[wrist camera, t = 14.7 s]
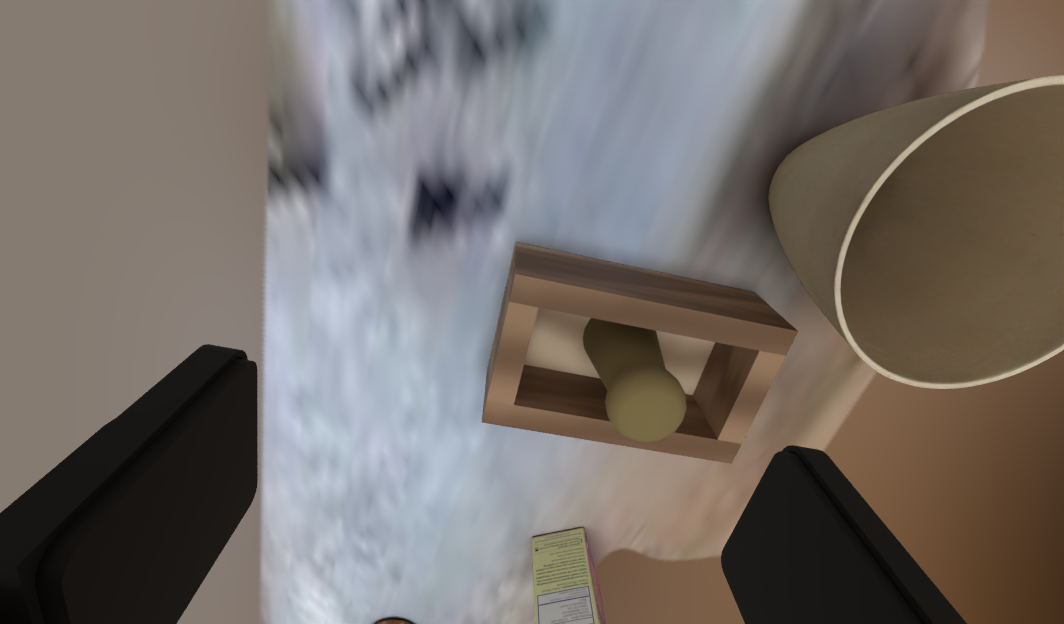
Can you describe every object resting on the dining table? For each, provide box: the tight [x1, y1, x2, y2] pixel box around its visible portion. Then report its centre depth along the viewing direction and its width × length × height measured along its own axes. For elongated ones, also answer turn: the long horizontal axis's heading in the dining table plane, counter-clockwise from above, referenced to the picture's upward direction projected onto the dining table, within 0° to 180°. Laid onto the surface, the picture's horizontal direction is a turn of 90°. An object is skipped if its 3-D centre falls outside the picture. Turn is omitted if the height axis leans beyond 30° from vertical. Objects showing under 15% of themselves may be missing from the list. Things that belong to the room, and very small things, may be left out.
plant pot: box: [768, 75, 1064, 389], centre depth 30 cm, size 15×15×16 cm
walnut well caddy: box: [482, 242, 798, 464], centre depth 39 cm, size 12×20×7 cm, turn 77°
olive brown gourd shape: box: [583, 318, 686, 443], centre depth 36 cm, size 6×6×11 cm
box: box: [532, 528, 606, 624], centre depth 49 cm, size 10×6×12 cm, turn 13°
